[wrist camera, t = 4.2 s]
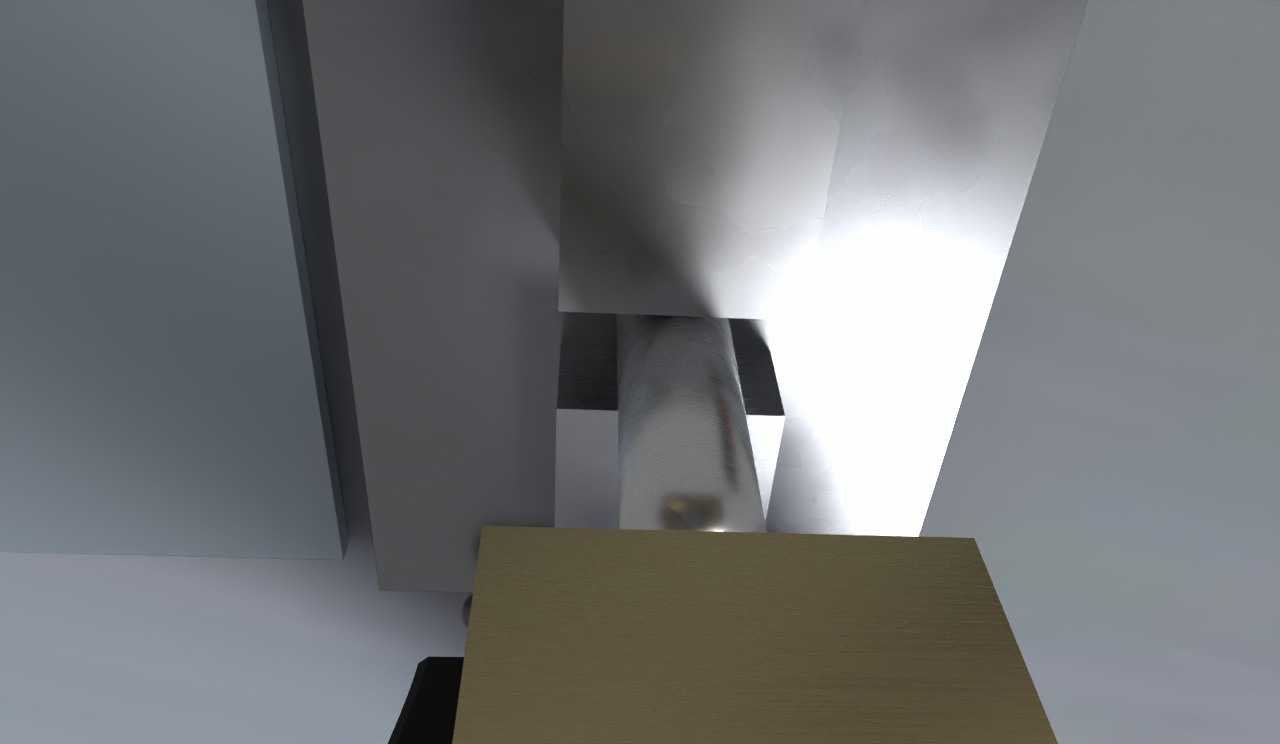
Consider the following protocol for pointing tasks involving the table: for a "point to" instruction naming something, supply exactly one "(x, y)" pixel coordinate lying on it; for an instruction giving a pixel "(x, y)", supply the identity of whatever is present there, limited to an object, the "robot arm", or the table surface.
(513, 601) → the collar
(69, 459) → the mat
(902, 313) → the vise
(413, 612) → the table surface
